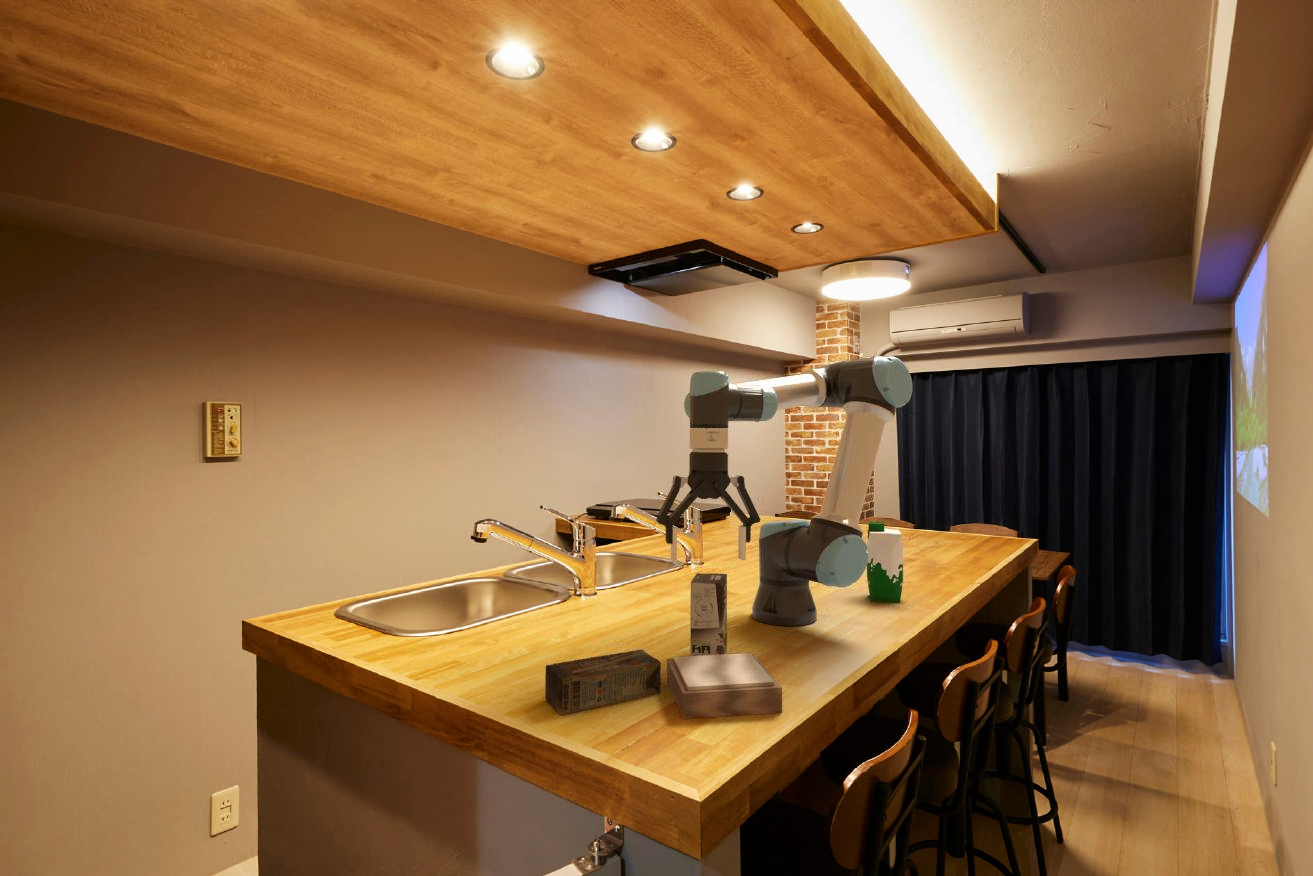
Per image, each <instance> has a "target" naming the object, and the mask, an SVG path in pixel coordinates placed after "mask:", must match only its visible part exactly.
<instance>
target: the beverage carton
mask: <svg viewBox="0 0 1313 876" xmlns="http://www.w3.org/2000/svg"><path fill="white" fill-rule="evenodd" d="M661 673H662V662H661V661H660V660H659V659H657V658H655V657H653V656H652V655H651V654H649V653H648V652H646V650H645V649H636V650H630V651H627V652H626V651H624V652H617V653H610V654H606V655H605V654H604V655H598V656H592V657H588V658H587V657H586V658H580V659H574V660H568V661H562V662H555V663H552V664H546V665H545V675H544V677H545V681H544V683H545V684H544V688H545V689H544V690H545V691H544V696H545V697H544V698H545V700H546V701H547V703H549V704H550V706H552V708H553V709H554V710H555V711H556V712H557V714H558V715H559V716H562V715H568V714H572V713H577V712H581V711H585V710H591V709H595V708H600V707H605V706H609V705H614V704H618V703H623V702H626V701H627V702H628V701H633V700H636V699H640V698H645V697H648V696H653V695H654V696H655V695H658V694H661V685H662V674H661Z"/></svg>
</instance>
